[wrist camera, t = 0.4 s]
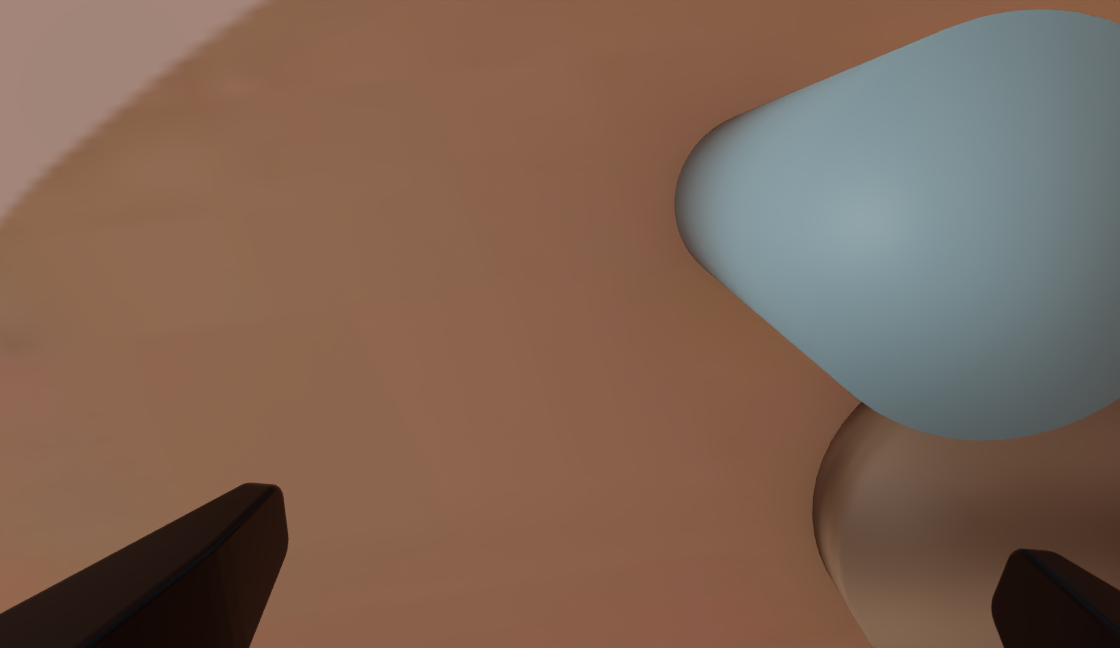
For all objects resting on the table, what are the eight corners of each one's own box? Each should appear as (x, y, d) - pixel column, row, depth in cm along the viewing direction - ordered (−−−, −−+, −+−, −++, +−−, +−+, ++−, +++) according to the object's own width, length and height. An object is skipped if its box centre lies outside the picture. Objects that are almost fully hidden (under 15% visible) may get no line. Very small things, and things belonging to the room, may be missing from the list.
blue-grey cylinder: (842, 289, 22) (1183, 447, 9) (670, 285, 22) (772, 433, 9) (861, 111, 21) (1283, 10, 8) (679, 108, 21) (809, 7, 8)
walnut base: (1113, 652, 24) (1185, 718, 21) (798, 638, 25) (825, 700, 22) (1179, 352, 22) (1270, 379, 19) (829, 342, 22) (864, 367, 19)
